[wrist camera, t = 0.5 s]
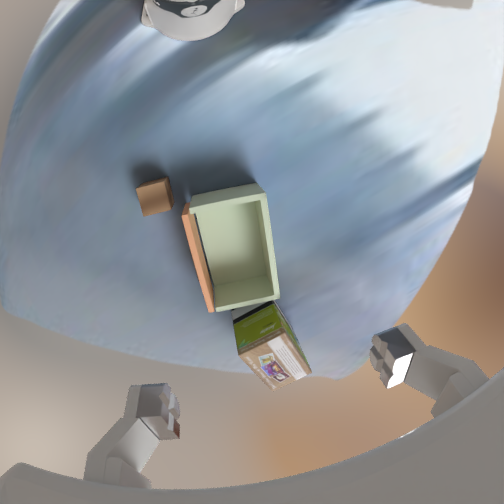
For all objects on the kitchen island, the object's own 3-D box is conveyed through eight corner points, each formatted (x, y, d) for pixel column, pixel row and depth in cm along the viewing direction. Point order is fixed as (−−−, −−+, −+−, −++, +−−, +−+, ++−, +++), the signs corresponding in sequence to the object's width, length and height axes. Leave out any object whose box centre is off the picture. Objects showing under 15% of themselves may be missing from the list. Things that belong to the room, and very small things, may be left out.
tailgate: (183, 203, 47) (179, 216, 41) (190, 201, 47) (187, 214, 41) (207, 290, 56) (207, 313, 49) (213, 289, 56) (214, 311, 49)
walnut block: (142, 183, 46) (135, 188, 42) (168, 176, 47) (164, 181, 42) (149, 208, 48) (143, 216, 44) (174, 202, 49) (171, 209, 44)
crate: (192, 195, 49) (189, 208, 41) (256, 182, 50) (265, 192, 42) (215, 287, 57) (216, 311, 50) (270, 275, 58) (280, 298, 51)
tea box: (295, 330, 66) (313, 374, 53) (260, 348, 67) (271, 393, 54) (269, 288, 60) (285, 333, 46) (229, 310, 61) (236, 357, 47)
